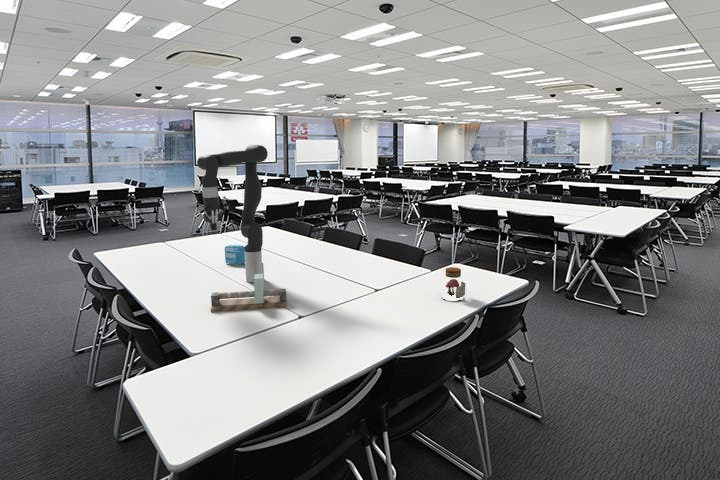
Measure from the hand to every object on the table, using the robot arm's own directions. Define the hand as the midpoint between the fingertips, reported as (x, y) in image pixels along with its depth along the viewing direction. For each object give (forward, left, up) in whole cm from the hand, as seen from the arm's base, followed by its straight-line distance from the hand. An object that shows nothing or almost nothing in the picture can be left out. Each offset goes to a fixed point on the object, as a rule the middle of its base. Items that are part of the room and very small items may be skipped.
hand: (214, 230), depth 225 cm
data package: (-45, -40, -33) cm, 69 cm away
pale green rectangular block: (+2, +33, -31) cm, 45 cm away
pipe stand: (+5, +30, -33) cm, 44 cm away
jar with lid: (-58, +105, -33) cm, 124 cm away
